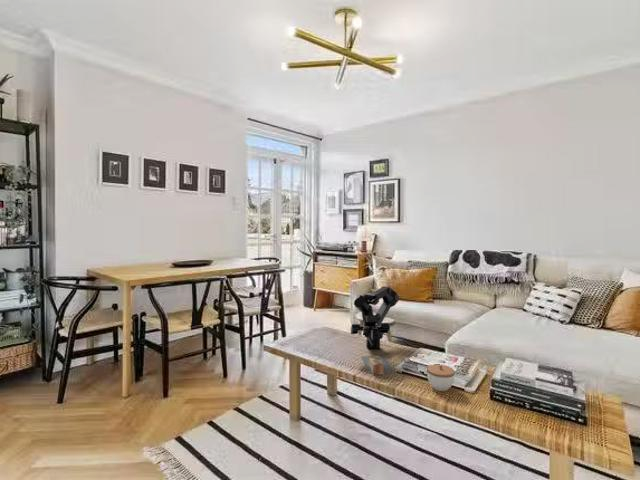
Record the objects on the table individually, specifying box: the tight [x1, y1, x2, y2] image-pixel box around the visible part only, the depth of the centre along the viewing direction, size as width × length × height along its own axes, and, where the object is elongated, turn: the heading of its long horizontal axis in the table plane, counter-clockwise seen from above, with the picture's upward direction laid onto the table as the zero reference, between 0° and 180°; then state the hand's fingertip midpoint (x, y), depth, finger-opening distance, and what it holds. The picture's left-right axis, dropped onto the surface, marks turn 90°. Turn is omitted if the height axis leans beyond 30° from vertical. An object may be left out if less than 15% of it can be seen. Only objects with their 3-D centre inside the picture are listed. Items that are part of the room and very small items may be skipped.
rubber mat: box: [360, 355, 396, 375], centre depth 173 cm, size 12×20×1 cm, turn 4°
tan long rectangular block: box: [368, 355, 384, 376], centre depth 166 cm, size 4×4×10 cm
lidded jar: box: [426, 364, 456, 392], centre depth 150 cm, size 11×11×9 cm
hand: (372, 344), depth 175 cm, fingers closed
